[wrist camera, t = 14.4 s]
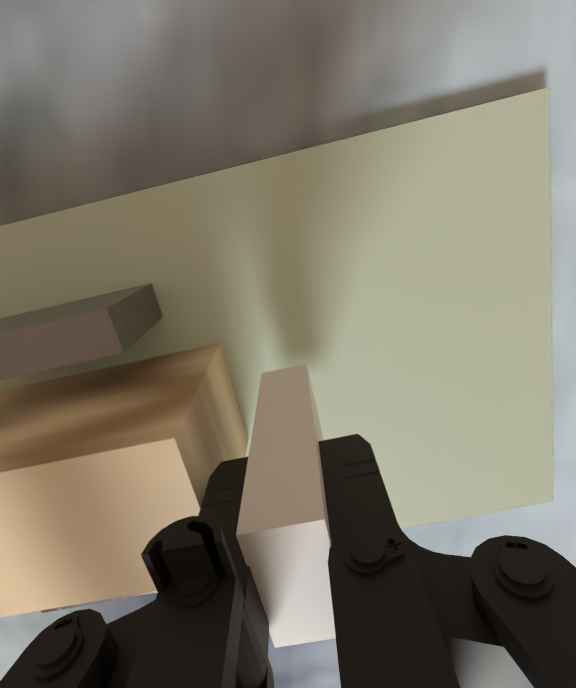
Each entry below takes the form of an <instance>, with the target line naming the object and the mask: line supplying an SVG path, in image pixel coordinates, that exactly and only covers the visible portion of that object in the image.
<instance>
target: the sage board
mask: <svg viewBox="0 0 576 688" xmlns="http://www.w3.org/2000/svg"><path fill="white" fill-rule="evenodd" d="M149 283H152V286H153V289H154V292H155V295H156V298H157V300H158V303H159V306H160V309H161V312H162V315H163V318H161V319H160V320H159V321H158V322H157V323H156V324H155V325H154V326H153V327H152V328H150V329H149V330H148V331H147V332H146V333H145V334H144V335H143V336H142V337H140V338H139V339H138V340H137V341H136V342H135V343H134V344H133V345H132V346H131V347H129V348H128V349H127V350H126V351H125V352H124V353H120V354H116V355H111V356H107V357H103V358H98V359H94V360H89V361H85V362H80V363H76V364H71V365H67V366H62V367H58V368H53V369H49V370H44V371H40V372H35V373H31V374H26V375H22V376H17V377H13V378H8V379H4V380H0V390H4V389H8V388H13V387H18V386H22V385H27V384H32V383H36V382H41V381H46V380H50V379H55V378H60V377H64V376H69V375H74V374H78V373H83V372H88V371H92V370H97V369H102V368H106V367H111V366H116V365H120V364H125V363H130V362H135V361H139V360H144V359H149V358H153V357H158V356H163V355H167V354H172V353H177V352H181V351H186V350H191V349H195V348H200V347H205V346H209V345H214V344H219V343H220V345H221V349H222V352H223V355H224V359H225V362H226V365H227V369H228V372H229V376H230V379H231V382H232V386H233V389H234V393H235V396H236V399H237V403H238V406H239V409H240V413H241V416H242V420H243V423H244V426H245V430H246V433H247V437H248V445H247V451H246V457H248V456H249V450H250V443H251V437H252V431H253V424H254V418H255V412H256V405H257V399H258V393H259V386H260V380H261V373H264V372H269V371H274V370H279V369H283V368H288V367H293V366H298V365H302V364H307V368H308V372H309V376H310V381H311V385H312V389H313V394H314V398H315V402H316V407H317V411H318V416H319V420H320V424H321V429H322V433H323V438H324V440H328V439H333V438H338V437H343V436H348V435H353V434H359V435H360V436H362V437H363V438H364V439H365V440H366V441H368V442H369V443H370V444H371V447H372V450H373V453H374V455H375V458H376V461H377V464H378V467H379V470H380V474H381V476H382V479H383V482H384V485H385V487H386V490H387V493H388V496H389V499H390V502H391V505H392V508H393V511H394V514H395V517H396V519H397V522H398V524H399V526H400V528H401V529H402V528H407V527H413V526H419V525H424V524H430V523H435V522H441V521H446V520H452V519H457V518H463V517H468V516H474V515H479V514H485V513H490V512H496V511H501V510H507V509H512V508H518V507H523V506H529V505H535V504H540V503H546V502H551V501H553V409H552V305H551V201H550V97H549V87H548V88H544V89H540V90H536V91H532V92H528V93H524V94H520V95H517V96H513V97H509V98H505V99H501V100H497V101H493V102H489V103H485V104H481V105H477V106H473V107H469V108H465V109H461V110H457V111H453V112H449V113H445V114H441V115H437V116H433V117H429V118H425V119H421V120H418V121H414V122H410V123H406V124H402V125H398V126H394V127H390V128H386V129H382V130H378V131H374V132H370V133H366V134H362V135H358V136H354V137H350V138H346V139H342V140H338V141H334V142H330V143H326V144H322V145H319V146H315V147H311V148H307V149H303V150H299V151H295V152H291V153H287V154H283V155H279V156H275V157H271V158H267V159H263V160H259V161H255V162H251V163H247V164H243V165H239V166H235V167H231V168H227V169H223V170H220V171H216V172H212V173H208V174H204V175H200V176H196V177H192V178H188V179H184V180H180V181H176V182H172V183H168V184H164V185H160V186H156V187H152V188H148V189H144V190H140V191H136V192H132V193H128V194H125V195H121V196H117V197H113V198H109V199H105V200H101V201H97V202H93V203H89V204H85V205H81V206H77V207H73V208H69V209H65V210H61V211H57V212H53V213H49V214H45V215H41V216H37V217H33V218H29V219H26V220H22V221H18V222H14V223H10V224H6V225H2V226H0V318H4V317H9V316H13V315H17V314H21V313H26V312H30V311H34V310H38V309H43V308H47V307H51V306H55V305H60V304H64V303H68V302H72V301H77V300H81V299H85V298H89V297H94V296H98V295H102V294H106V293H111V292H115V291H119V290H124V289H128V288H132V287H136V286H141V285H145V284H149Z"/></svg>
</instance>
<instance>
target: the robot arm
mask: <svg viewBox="0 0 576 688" xmlns="http://www.w3.org/2000/svg"><path fill="white" fill-rule="evenodd" d="M141 557H142V559H143V561H144V563H145V565H146V568H147V570H148V572H149V574H150V576H151V579H152V581H153V583H154V585H155V587H156V589H157V592H158V594H157V597H156V599H155V600H154V601H153V602H151V603H149V604H147V605H146V606H144V607H142V608H140V609H138V610H136V611H134V612H132V613H130V614H127V615H125V616H123V617H121V618H119V619H117V620H115V621H113V622H111V623H108V624H106V623H105V621H104V619H103V617H102V615H101V613H99V612H96V611H94V610H91V609H86V610H78V611H74V612H72V613H70V614H68V615H65V616H63V617H61V618H59V619H58V620H56V621H55V622H54V623H52V624H51V625H49V626H48V627H47V628H45V629H44V630H43V631H42V632H41V633H40V634H39V635H38V636H37V637H36V638H35V639H34V640H33V641H32V642H31V643H30V644H29V645H28V647H27V648H26V649H25V650H24V651H23V653H22V654H21V655H20V657H19V658H18V659H17V660H16V662H15V663H14V664H13V666H12V667H11V668H10V670H9V671H8V672H7V673H6V675H5V676H4V677H3V679H2V680H1V681H0V688H274V679H273V672H272V668H271V665H270V662H269V659H268V638H269V632H270V635H271V638H272V640H273V643H274V646H275V648H276V647H283V646H289V645H295V644H302V643H308V642H314V641H321V640H327V639H333V638H336V644H337V653H338V662H339V672H340V681H341V688H576V567H574V566H573V565H572V564H571V563H570V562H569V561H568V560H566V559H565V558H564V557H563V556H561V555H560V554H559V553H557V552H556V551H554V550H553V549H551V548H550V547H548V546H547V545H545V544H542V543H540V542H537V541H534V540H531V539H529V538H526V537H518V536H507V535H504V536H500V537H495V538H490V539H487V540H486V541H484V542H483V543H482V544H480V545H479V546H477V547H476V548H475V550H474V552H473V554H472V556H471V557H463V556H455V555H446V554H441V553H437V552H432V551H430V550H427V549H425V548H422V547H420V546H418V545H417V544H416V543H414V542H413V541H411V540H410V539H409V538H408V537H407V536H406V535H405V534H404V533H403V532H402V530H401V528H400V526H399V524H398V522H397V519H396V517H395V514H394V511H393V508H392V505H391V502H390V499H389V496H388V493H387V490H386V487H385V485H384V482H383V479H382V476H381V474H380V470H379V467H378V464H377V461H376V458H375V455H374V453H373V450H372V447H371V444H370V443H369V442H368V441H366V440H365V439H364V438H363V437H362V436H360V435H359V434H353V435H348V436H343V437H338V438H333V439H328V440H324V438H323V433H322V429H321V424H320V420H319V416H318V411H317V407H316V402H315V398H314V394H313V389H312V385H311V381H310V376H309V372H308V368H307V364H302V365H298V366H293V367H288V368H283V369H279V370H274V371H269V372H264V373H261V380H260V386H259V393H258V399H257V405H256V412H255V418H254V424H253V431H252V437H251V443H250V450H249V456H248V457H243V458H238V459H233V460H228V461H222V462H221V463H220V464H219V465H218V466H217V468H216V469H215V470H214V472H213V473H212V474H211V475H210V477H209V480H208V483H207V487H206V490H205V495H204V497H203V501H202V504H201V509H200V511H199V515H198V516H189V517H186V518H183V519H180V520H177V521H175V522H173V523H171V524H170V525H168V526H166V527H165V528H163V529H162V530H160V531H159V532H158V533H157V534H156V535H155V536H154V537H153V538H152V539H151V540H150V541H149V542H148V544H147V545H146V547H145V549H144V550H143V552H142V553H141Z"/></svg>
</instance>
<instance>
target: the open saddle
mask: <svg viewBox="0 0 576 688" xmlns="http://www.w3.org/2000/svg"><path fill="white" fill-rule="evenodd" d="M161 318H163V315H162V312H161V309H160V306H159V303H158V300H157V298H156V295H155V292H154V289H153V286H152V283H149V284H145V285H141V286H136V287H132V288H128V289H124V290H119V291H115V292H111V293H106V294H102V295H98V296H94V297H89V298H85V299H81V300H77V301H72V302H68V303H64V304H60V305H55V306H51V307H47V308H43V309H38V310H34V311H30V312H26V313H21V314H17V315H13V316H9V317H4V318H0V380H4V379H8V378H13V377H17V376H22V375H26V374H31V373H35V372H40V371H44V370H49V369H53V368H58V367H62V366H67V365H71V364H76V363H80V362H85V361H89V360H94V359H98V358H103V357H107V356H111V355H116V354H120V353H124V352H125V351H126V350H127V349H128V348H129V347H131V346H132V345H133V344H134V343H135V342H136V341H137V340H138V339H139V338H140V337H142V336H143V335H144V334H145V333H146V332H147V331H148V330H149V329H150V328H152V327H153V326H154V325H155V324H156V323H157V322H158V321H159V320H160V319H161ZM151 593H157V591H151V592H145V593H139V594H133V595H128V596H122V597H116V598H110V599H104V600H99V601H93V602H87V603H81V604H75V605H70V606H64V607H58V608H52V609H46V610H41V612H42V613H44V612H50V611H56V610H61V609H67V608H72V607H78V606H84V605H89V604H95V603H101V602H106V601H112V600H118V599H123V598H129V597H134V596H140V595H146V594H151Z"/></svg>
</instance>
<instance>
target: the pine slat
mask: <svg viewBox="0 0 576 688" xmlns="http://www.w3.org/2000/svg"><path fill="white" fill-rule="evenodd" d="M247 445H248V437H247V433H246V430H245V426H244V423H243V420H242V416H241V413H240V409H239V406H238V403H237V399H236V396H235V393H234V389H233V386H232V382H231V379H230V376H229V372H228V369H227V365H226V362H225V359H224V355H223V352H222V349H221V345H220V343H219V344H214V345H209V346H205V347H200V348H195V349H191V350H186V351H181V352H177V353H172V354H167V355H163V356H158V357H153V358H149V359H144V360H139V361H135V362H130V363H125V364H120V365H116V366H111V367H106V368H102V369H97V370H92V371H88V372H83V373H78V374H74V375H69V376H64V377H60V378H55V379H50V380H46V381H41V382H36V383H32V384H27V385H22V386H18V387H13V388H8V389H4V390H0V617H6V616H11V615H17V614H23V613H29V612H35V611H40V610H46V609H52V608H58V607H64V606H70V605H75V604H81V603H87V602H93V601H99V600H104V599H110V598H116V597H122V596H128V595H133V594H139V593H145V592H151V591H157V589H156V587H155V585H154V583H153V581H152V579H151V576H150V574H149V572H148V570H147V568H146V565H145V563H144V561H143V559H142V557H141V553H142V552H143V550H144V549H145V547H146V545H147V544H148V542H149V541H150V540H151V539H152V538H153V537H154V536H155V535H156V534H157V533H158V532H159V531H160V530H162V529H163V528H165V527H166V526H168V525H170V524H171V523H173V522H175V521H177V520H180V519H183V518H186V517H189V516H198V515H199V511H200V509H201V504H202V501H203V497H204V495H205V490H206V487H207V483H208V480H209V477H210V475H211V474H212V473H213V472H214V470H215V469H216V468H217V466H218V465H219V464H220V463H221V462H222V461H228V460H233V459H238V458H243V457H246V451H247Z"/></svg>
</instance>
